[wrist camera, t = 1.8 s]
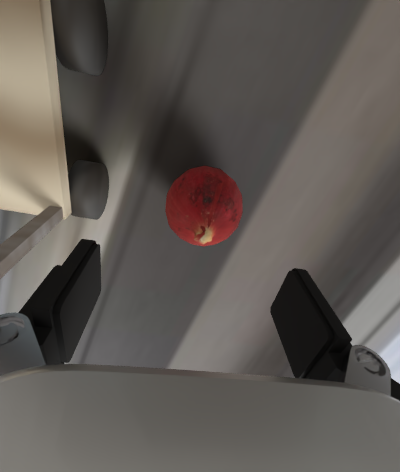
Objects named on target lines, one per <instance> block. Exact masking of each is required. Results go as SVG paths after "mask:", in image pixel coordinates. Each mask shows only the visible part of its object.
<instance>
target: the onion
mask: <svg viewBox="0 0 400 472" xmlns="http://www.w3.org/2000/svg"><path fill="white" fill-rule="evenodd" d="M242 212H243V211H242V194H241V193H240V191H239V189H238V187H237V185H236V183H235V181H234V180H233V179H232V178H230V177H229V176H228V175H227V174H226V173H224V172H223V171H222V170H221V169H218V168H213V167H209V166H200V167H196V168H192V169H188V170H187V171H186V172H185V173H183V174H182V175H181V176H180V177H178V178H177V179H176V180H175V181H174V182H173V184H172V186H171V188H170V189H169V191H168V193H167V198H166V215H167V219H168V223H169V226H170V228H171V229H172V230H173V231H174V232H175V233H176V234H177V235H178V236H179V237H180V238H181V239H183V240H185V241H187V242H189V243H191V244H193V245H199V246H208V245H213V244H217V243H219V242H221V241H223V240H225V239H227V238H228V237H229V236H230V235H231V234H232V233H233V232H234V231H235V230H236V228H237V227H238V224H239V221H240V219H241V216H242Z"/></svg>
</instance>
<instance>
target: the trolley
mask: <svg viewBox="0 0 400 472" xmlns="http://www.w3.org/2000/svg"><path fill="white" fill-rule="evenodd" d="M107 49H108V28H107V17H106V10H105V4H104V0H0V209H3V210H10V211H16V212H22V213H28V214H35V215H37V216H36V217H35V218H33V219H32V220H31V221H30V222H28V223H27V224H26V225H25V226H23V227H22V228H21V229H20V230H18V231H17V232H16V233H15V234H13V235H12V236H11V237H9V238H8V239H7V240H6V241H4V242H3V243H2V244H1V245H0V279H1V278H2V277H3V276H4V275H5V274H6V273H7V272H8V271H9V270H10V269H11V268H12V267H13V266H14V265H15V264H16V263H18V262H19V261H20V260H21V259H22V258H23V257H24V256H25V255H26V254H27V253H28V252H29V251H30V250H31V249H32V248H33V247H34V246H35V245H36V244H37V243H38V242H39V241H40V240H41V239H42V238H43V237H44V236H45V235H46V234H47V233H48V232H49V231H51V230H52V229H53V228H54V227H55V226H56V225H57V224H58V223H59V222H60V221H61V220H62V219H66V218H67V217H68V216H69V215H70V214H72V215H73V216H77V217H83V218H90V219H99V218H100V217H101V215H102V214H103V212H104V209H105V206H106V203H107V198H108V190H109V177H108V171H107V168H106V166H105V165H104V164H101V163H95V162H90V161H85V160H77V161H76V162H75V163H74V164H73V165H72V167H71V169H70V171H69V174H68V172H67V162H66V152H65V142H64V132H63V122H62V112H61V102H60V92H59V82H58V73H57V63H56V55H57V57H58V59H59V60H60V62H61V63H62V64H63V66H64V67H66V68H67V69H70V70H74V71H78V72H82V73H87V74H91V75H95V76H99V75H100V74H101V73H102V72H103V70H104V67H105V63H106V58H107Z"/></svg>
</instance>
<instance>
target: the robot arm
mask: <svg viewBox="0 0 400 472" xmlns="http://www.w3.org/2000/svg"><path fill="white" fill-rule="evenodd" d="M100 291H101V262H100V245H99V244H96V241H93V240H86V239H81V240H80V242H79V243H78V244H77V246H76V247H75V248H74V250H73V251H72V253H71V254H70V255H69V257H68V258H67V259H66V261H65V262H64V263H63V265H62V266H60V265H57V266H55V267H54V268H53V269H52V270H51V272H50V273H49V274H48V275H47V277H46V278H45V279H44V281H43V282H42V283H41V284H40V286H39V287H38V288H37V290H36V291H35V292H34V293H33V295H32V296H31V297H30V299H29V300H28V301H27V302H26V304H25V305H24V306H23V308H22V309H21V310H20V311H19V313H6V314H2V315H0V472H400V384H399V383H397V382H396V381H394V380H393V379H392V378H391V374H390V369H389V367H388V366H387V364H386V363H385V361H384V360H383V359H382V358H381V357H380V356H379V355H378V354H377V353H375V352H374V351H372V350H371V349H369V348H367V347H365V346H362V345H354V346H352V345H351V343H350V342H351V340H352V338H351V337H350V335H349V334H348V332H347V331H346V329H345V328H344V326H343V325H342V323H341V322H340V320H339V319H338V317H337V316H336V314H335V313H334V311H333V310H332V308H331V307H330V305H329V304H328V302H327V301H326V299H325V298H324V296H323V295H322V293H321V292H320V290H319V289H318V287H317V285H316V284H315V282H314V281H313V279H312V278H311V276H310V275H309V273H308V272H307V271H306V270H303V269H296V268H294V269H292V271H289V272H288V274H287V276H286V278H285V280H284V282H283V284H282V286H281V288H280V290H279V292H278V294H277V296H276V298H275V300H274V302H273V304H272V306H271V315H272V318H273V320H274V323H275V326H276V329H277V331H278V334H279V337H280V339H281V342H282V345H283V347H284V350H285V353H286V355H287V358H288V361H289V363H290V366H291V369H292V372H293V374H294V376H295V378H288V377H275V376H262V375H249V374H234V373H220V372H206V371H191V370H176V369H161V368H145V367H130V366H111V365H89V364H64V363H65V362H66V363H68V362H69V361H70V360H71V358H72V356H73V353H74V351H75V349H76V347H77V344H78V342H79V340H80V338H81V335H82V333H83V331H84V329H85V326H86V324H87V322H88V320H89V317H90V315H91V313H92V311H93V308H94V306H95V304H96V302H97V299H98V297H99V295H100Z"/></svg>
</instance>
